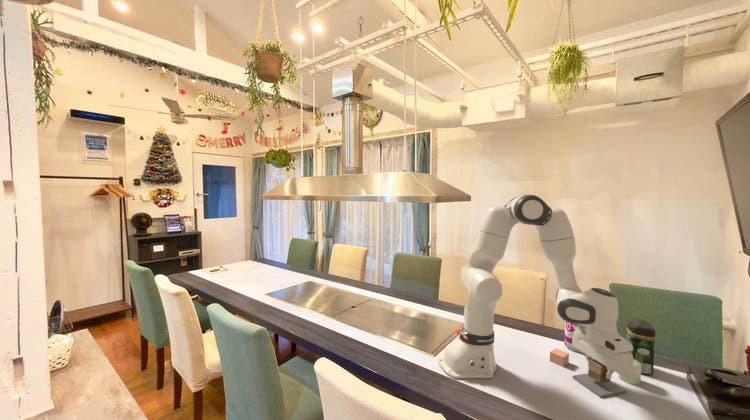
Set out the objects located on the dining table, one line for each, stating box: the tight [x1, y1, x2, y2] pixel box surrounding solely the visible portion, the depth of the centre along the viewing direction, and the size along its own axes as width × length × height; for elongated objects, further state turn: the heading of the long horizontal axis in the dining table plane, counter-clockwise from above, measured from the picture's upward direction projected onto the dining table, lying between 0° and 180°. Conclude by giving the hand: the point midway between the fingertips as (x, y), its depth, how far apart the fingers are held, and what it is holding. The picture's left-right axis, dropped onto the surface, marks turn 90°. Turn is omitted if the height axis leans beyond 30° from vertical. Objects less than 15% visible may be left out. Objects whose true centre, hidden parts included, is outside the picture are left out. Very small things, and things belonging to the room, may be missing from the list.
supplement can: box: [563, 320, 586, 353], centre depth 133 cm, size 8×8×15 cm
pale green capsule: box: [618, 359, 642, 386], centre depth 111 cm, size 6×6×7 cm
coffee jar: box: [626, 318, 656, 375], centre depth 117 cm, size 10×8×19 cm
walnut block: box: [587, 358, 611, 383], centre depth 108 cm, size 4×4×6 cm
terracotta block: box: [549, 347, 570, 368], centre depth 122 cm, size 5×5×4 cm
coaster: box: [572, 372, 627, 398], centre depth 108 cm, size 11×11×1 cm
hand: (599, 372), depth 108 cm, fingers closed on walnut block, 4 cm apart
